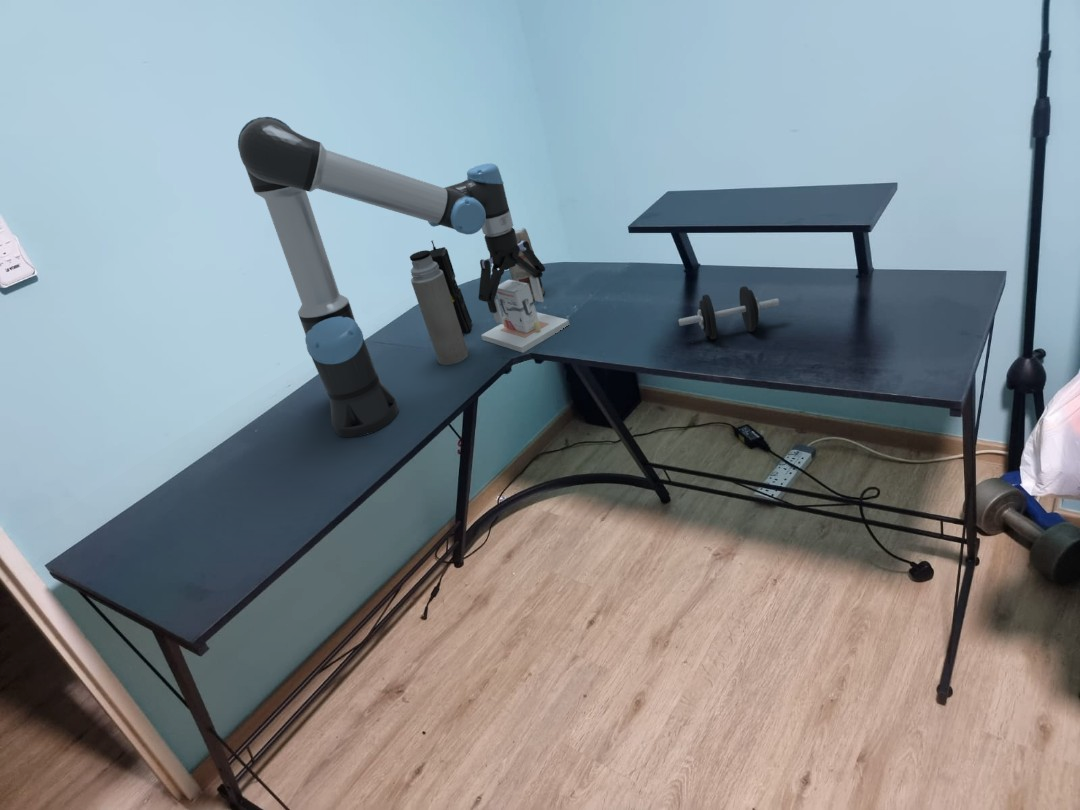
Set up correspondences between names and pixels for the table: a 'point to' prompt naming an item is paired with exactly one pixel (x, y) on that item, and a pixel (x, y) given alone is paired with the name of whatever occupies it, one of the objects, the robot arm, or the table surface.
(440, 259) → the portable radio
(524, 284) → the ink box
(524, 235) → the spray can
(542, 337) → the pin plate
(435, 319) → the thermos bottle
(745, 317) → the dumbbell
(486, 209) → the robot arm
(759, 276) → the table surface
